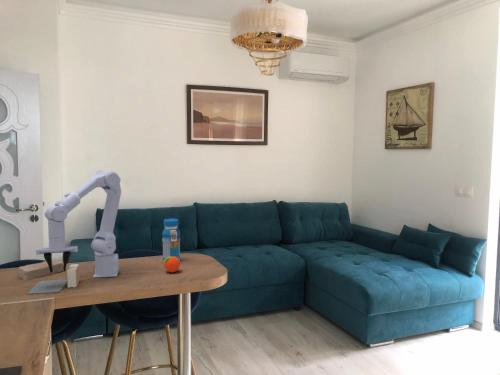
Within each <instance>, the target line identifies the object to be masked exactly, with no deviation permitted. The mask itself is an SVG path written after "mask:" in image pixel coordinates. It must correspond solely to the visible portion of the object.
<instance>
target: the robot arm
mask: <svg viewBox="0 0 500 375" xmlns="http://www.w3.org/2000/svg"><path fill="white" fill-rule="evenodd" d="M121 179H122V178H121V176H119V174H118V173H117V172H116V171H103V170H99V171H97V172H95V174H92V175H91V176H90V178H89V179H88V180H86V181H85V183H84V184H82V185H81V186H80V187H79V188H78V189H77V190H76V191H75V192H69V193H67V192H66V193H65V194H64V196H63V198H61V199H60V200H58V201H56V202H54V205H50V206H48V207H47V208H46V210H45V212H44V217H45V219H46V220H47V225H48V226H47V227H48V230H47V232H48V235H47V236H48V247H44V248H36V249H35V255H36V256H39V255H43V258H44V260H45V261H46V262H47V264H48V266H49V269H50V273H52V271H53V268H52V260H53V258H52V256H53V254H61V253H62V254H63V256H62V257H63V263H64V264H63V265H64V269H63V272H67V265H68V261H69V259H70V256H71V253H73V252H74V253H78V250H79V249H78V248H79V246H77V245H73V246H72V245H69V246H68V245H66V230H65V220H66V219H67V218H68V214H69V213H70V212H72V211H73V210H74V209H75V208H76V207H77V206H79V205H80V204H81V200H82V198H84V197H85V196H86V195H88V194H89V193H90V192H92V191H93V190H95V189H96V188H101V189H102V190H103V191H104V192H105V193H106V199H105V203H104V208H103V213H102V217H101V222H100V225H99V227H100V228H99V230H98V231H97V232H96V233H95V235H94V238H93V240H92V241H91V245H90V247H91V249H92V250H93V251H94V270H95V271H94V272H95V273H94V274H93V275H92V278H109V277H118V274H119V272H120V265H119V253H114V252H115V251H116V249H117V245H116V239H117V238H116V235H115V234H114V229H115V225H116V224H115V223H116V218H117V214H118V210H119V205H120V199H121V196H122V188H121Z"/></svg>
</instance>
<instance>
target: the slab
mask: <svg viewBox="0 0 500 375" xmlns="http://www.w3.org/2000/svg"><path fill="white" fill-rule="evenodd" d="M66 273H67V274H66V275H67V279H68V282H67V288H69V289H70V287H73V288H77V286H78V285H79V284H80V283H79V282H80V264H79V263H75V264H70V265H69V267H68V268H67V269H66Z"/></svg>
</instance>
